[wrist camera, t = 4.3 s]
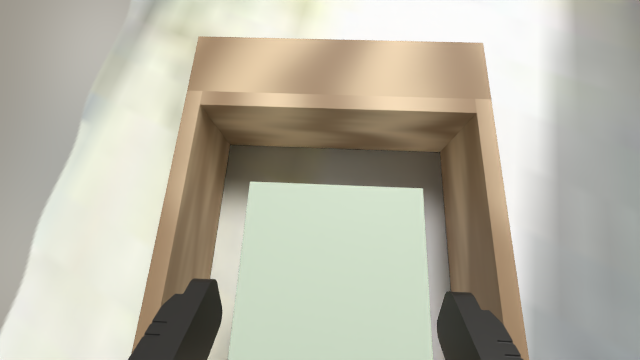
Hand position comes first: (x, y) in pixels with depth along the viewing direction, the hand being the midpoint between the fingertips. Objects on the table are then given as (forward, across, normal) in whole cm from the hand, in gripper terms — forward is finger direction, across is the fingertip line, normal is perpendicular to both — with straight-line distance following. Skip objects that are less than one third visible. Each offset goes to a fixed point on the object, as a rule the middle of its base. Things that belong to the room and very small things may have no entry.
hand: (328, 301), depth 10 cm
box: (+6, 0, +4) cm, 7 cm away
